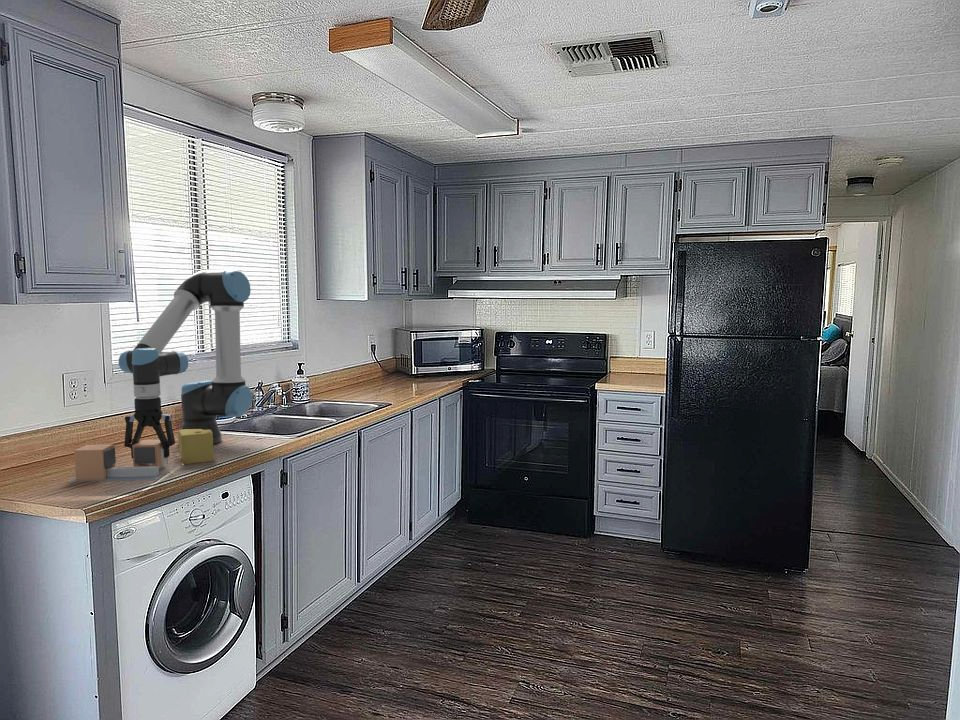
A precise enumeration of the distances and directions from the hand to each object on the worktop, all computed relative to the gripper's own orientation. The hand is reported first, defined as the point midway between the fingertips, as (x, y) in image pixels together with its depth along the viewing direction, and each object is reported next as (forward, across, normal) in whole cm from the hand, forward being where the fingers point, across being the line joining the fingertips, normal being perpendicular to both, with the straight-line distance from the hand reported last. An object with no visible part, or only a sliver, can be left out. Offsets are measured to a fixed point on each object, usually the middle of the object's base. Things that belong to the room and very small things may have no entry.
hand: (151, 467), depth 217 cm
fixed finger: (0, -12, -10) cm, 16 cm away
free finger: (+1, 0, 0) cm, 1 cm away
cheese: (+1, +10, +12) cm, 16 cm away
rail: (+1, -6, -10) cm, 12 cm away
